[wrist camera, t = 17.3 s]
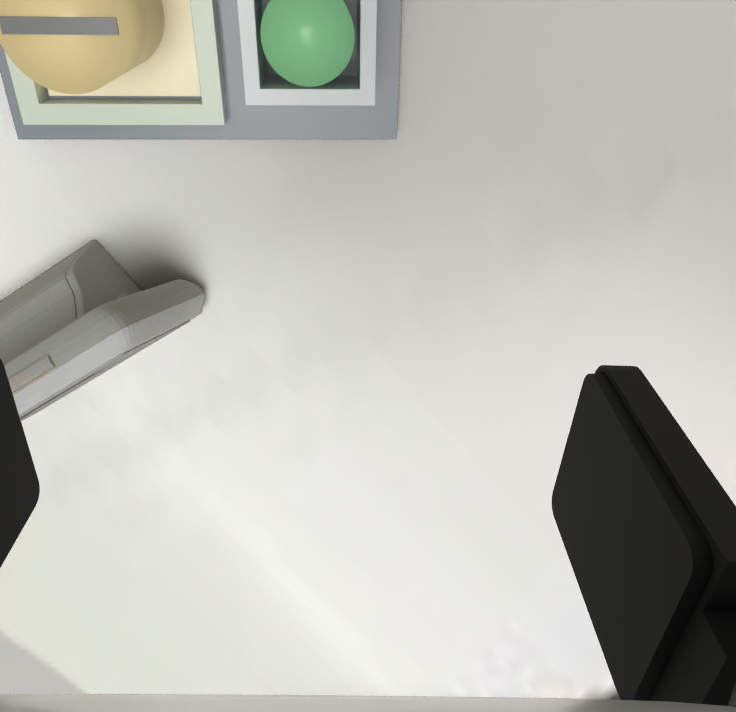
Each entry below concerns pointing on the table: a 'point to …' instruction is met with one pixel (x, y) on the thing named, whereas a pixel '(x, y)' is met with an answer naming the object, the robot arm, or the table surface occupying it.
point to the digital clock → (83, 324)
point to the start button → (307, 39)
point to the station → (186, 72)
